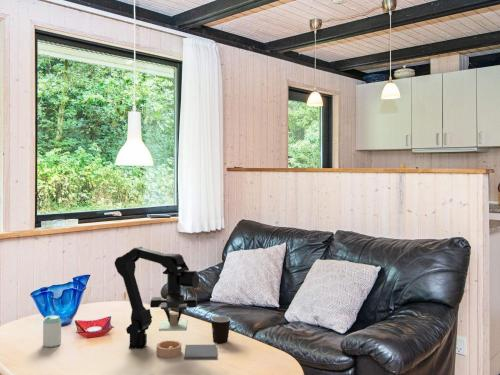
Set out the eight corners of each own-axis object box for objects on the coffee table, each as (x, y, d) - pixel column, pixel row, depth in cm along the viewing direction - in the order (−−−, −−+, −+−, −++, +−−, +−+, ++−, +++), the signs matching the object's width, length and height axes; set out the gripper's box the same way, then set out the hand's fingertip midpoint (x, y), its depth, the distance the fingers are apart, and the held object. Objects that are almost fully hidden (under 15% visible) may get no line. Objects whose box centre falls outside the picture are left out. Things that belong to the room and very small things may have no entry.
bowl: (155, 358, 192) (155, 349, 192) (157, 348, 202) (158, 340, 202) (180, 357, 193) (180, 349, 193) (181, 348, 203) (182, 340, 203)
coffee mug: (227, 345, 207) (227, 322, 207) (208, 343, 209) (208, 321, 209) (233, 336, 219) (234, 315, 218) (215, 334, 220) (215, 313, 220)
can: (54, 348, 199) (54, 320, 199) (39, 347, 200) (39, 318, 200) (64, 342, 206) (64, 315, 205) (49, 341, 207) (49, 313, 207)
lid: (158, 330, 191) (158, 317, 191) (161, 322, 202) (161, 309, 202) (186, 330, 192) (186, 317, 192) (187, 321, 203) (187, 309, 203)
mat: (184, 359, 191) (184, 356, 191) (185, 347, 204) (185, 344, 204) (216, 358, 193) (216, 356, 193) (216, 346, 206) (216, 344, 206)
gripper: (148, 290, 187) (148, 329, 188) (196, 290, 189) (196, 329, 190) (152, 283, 199) (151, 320, 199) (197, 283, 200) (196, 320, 201)
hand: (173, 322), depth 197 cm, fingers closed on lid, 3 cm apart
